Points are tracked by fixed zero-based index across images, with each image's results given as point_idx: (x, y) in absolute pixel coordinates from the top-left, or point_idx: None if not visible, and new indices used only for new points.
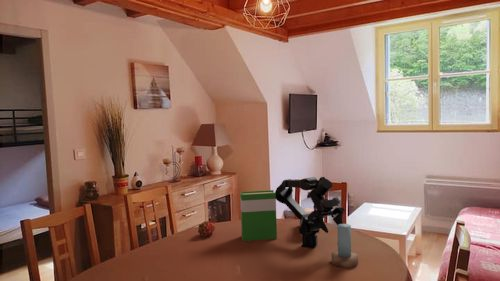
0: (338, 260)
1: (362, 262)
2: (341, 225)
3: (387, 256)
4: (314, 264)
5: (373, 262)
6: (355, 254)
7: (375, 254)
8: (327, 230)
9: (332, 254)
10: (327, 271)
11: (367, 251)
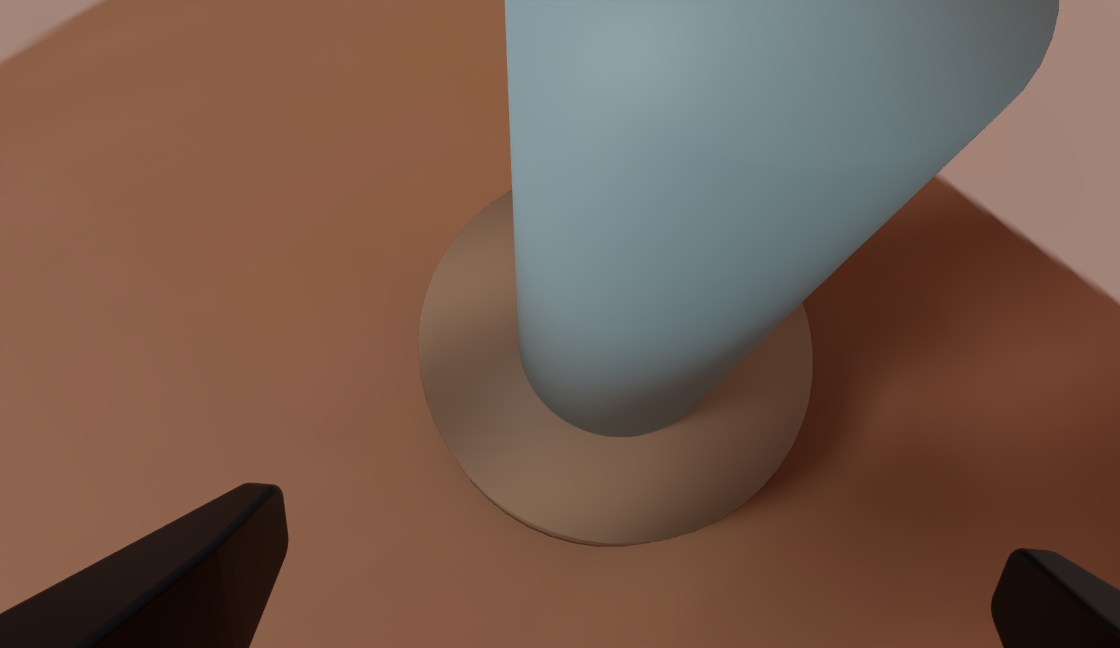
0: (797, 308)
1: (440, 223)
2: (844, 8)
3: (54, 131)
4: (989, 605)
5: (348, 144)
6: (465, 256)
7: (77, 258)
8: (1088, 577)
9: (732, 492)
10: (973, 337)
11: (27, 392)
